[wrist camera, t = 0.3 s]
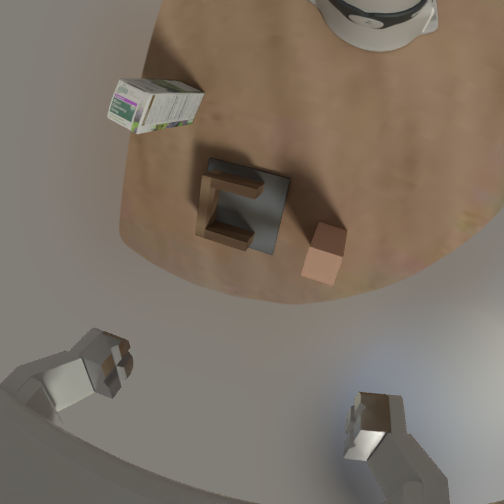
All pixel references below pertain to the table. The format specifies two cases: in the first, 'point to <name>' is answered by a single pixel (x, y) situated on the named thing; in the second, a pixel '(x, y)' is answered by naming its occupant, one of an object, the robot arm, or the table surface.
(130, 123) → the syrup box
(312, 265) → the block
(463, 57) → the table surface
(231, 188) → the stop cradle
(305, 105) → the table surface
